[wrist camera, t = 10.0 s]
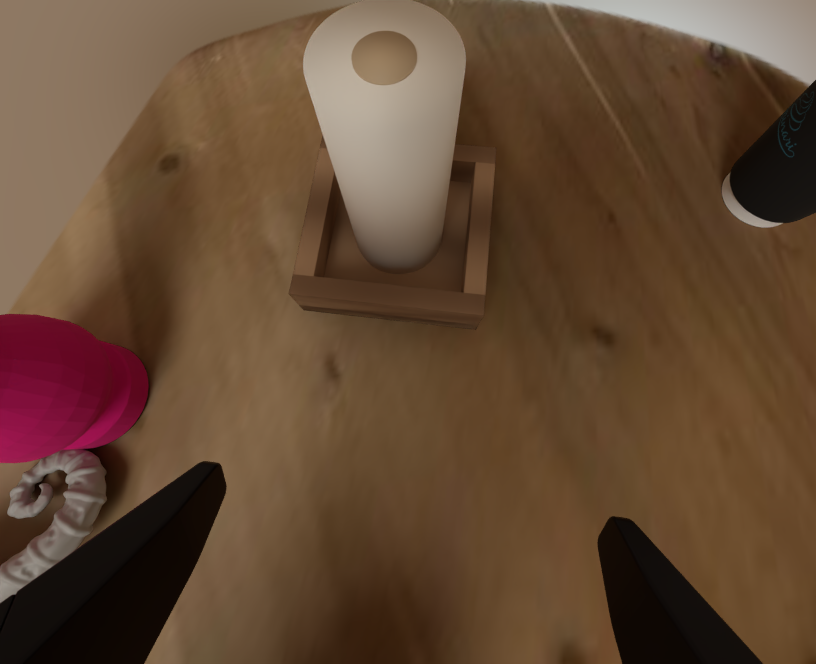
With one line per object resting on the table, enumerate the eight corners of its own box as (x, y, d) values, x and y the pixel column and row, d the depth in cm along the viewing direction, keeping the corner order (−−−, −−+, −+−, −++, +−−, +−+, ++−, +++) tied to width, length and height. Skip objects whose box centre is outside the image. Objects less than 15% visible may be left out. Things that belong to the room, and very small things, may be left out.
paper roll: (412, 289, 23) (409, 152, 12) (339, 247, 24) (269, 78, 13) (457, 221, 25) (496, 33, 13) (386, 183, 25) (361, -27, 14)
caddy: (475, 329, 24) (483, 315, 21) (303, 310, 24) (288, 293, 21) (487, 178, 27) (496, 147, 24) (333, 164, 27) (323, 132, 24)
